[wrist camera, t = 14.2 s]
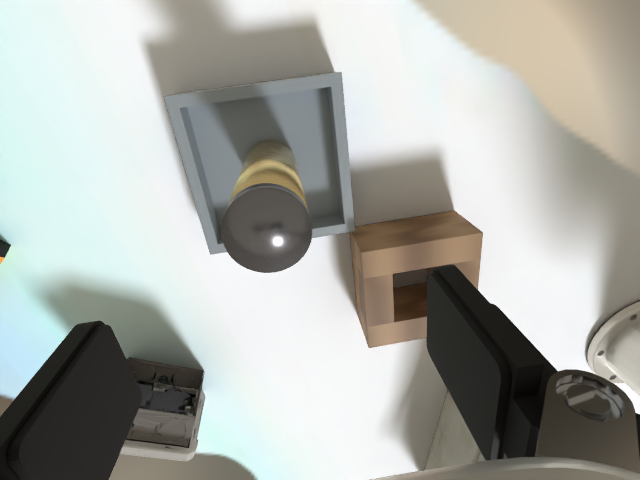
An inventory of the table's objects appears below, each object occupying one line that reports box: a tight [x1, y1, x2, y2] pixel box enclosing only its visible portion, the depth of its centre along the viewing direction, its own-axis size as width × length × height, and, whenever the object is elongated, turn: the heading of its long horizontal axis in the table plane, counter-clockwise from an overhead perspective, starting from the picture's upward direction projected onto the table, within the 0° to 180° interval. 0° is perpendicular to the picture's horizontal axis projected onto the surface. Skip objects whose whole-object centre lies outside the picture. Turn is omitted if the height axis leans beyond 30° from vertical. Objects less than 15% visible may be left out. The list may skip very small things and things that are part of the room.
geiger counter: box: [424, 391, 486, 470], centre depth 40 cm, size 14×6×25 cm
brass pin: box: [221, 139, 312, 273], centre depth 22 cm, size 4×4×14 cm
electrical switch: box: [120, 357, 205, 461], centre depth 33 cm, size 9×5×9 cm, turn 69°
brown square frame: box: [350, 211, 483, 348], centre depth 33 cm, size 10×10×5 cm
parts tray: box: [164, 72, 355, 255], centre depth 28 cm, size 12×12×3 cm
